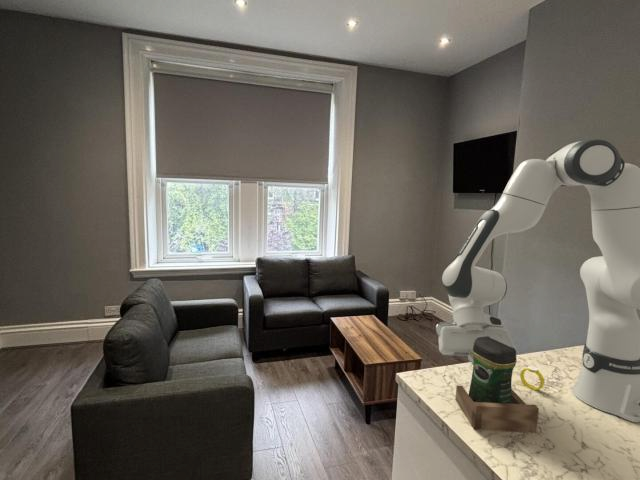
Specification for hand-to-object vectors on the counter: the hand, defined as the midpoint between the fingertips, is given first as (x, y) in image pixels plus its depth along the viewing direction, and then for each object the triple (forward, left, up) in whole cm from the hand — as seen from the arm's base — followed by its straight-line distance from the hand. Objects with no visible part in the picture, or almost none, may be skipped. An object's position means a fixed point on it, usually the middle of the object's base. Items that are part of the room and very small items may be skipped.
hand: (482, 371), depth 91 cm
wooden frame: (0, +7, -7) cm, 10 cm away
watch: (-18, -6, -8) cm, 20 cm away
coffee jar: (0, +6, -8) cm, 10 cm away
